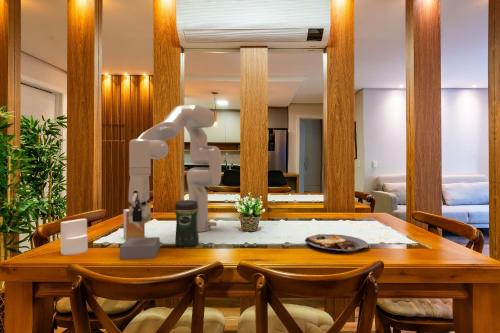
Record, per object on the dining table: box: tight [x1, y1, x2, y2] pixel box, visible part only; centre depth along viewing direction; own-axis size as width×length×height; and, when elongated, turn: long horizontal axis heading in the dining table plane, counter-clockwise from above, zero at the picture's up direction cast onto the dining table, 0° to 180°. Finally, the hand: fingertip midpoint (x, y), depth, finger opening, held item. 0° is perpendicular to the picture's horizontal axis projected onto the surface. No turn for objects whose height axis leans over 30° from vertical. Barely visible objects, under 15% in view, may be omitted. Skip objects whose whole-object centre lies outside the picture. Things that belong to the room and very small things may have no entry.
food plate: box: [304, 233, 369, 253], centre depth 127 cm, size 25×23×4 cm
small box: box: [122, 208, 146, 241], centre depth 139 cm, size 8×6×13 cm
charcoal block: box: [119, 236, 161, 260], centre depth 116 cm, size 12×12×5 cm
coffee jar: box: [174, 199, 200, 247], centre depth 129 cm, size 10×8×19 cm
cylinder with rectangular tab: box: [60, 218, 88, 256], centre depth 119 cm, size 9×9×12 cm
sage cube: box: [128, 204, 152, 224], centre depth 115 cm, size 6×6×6 cm
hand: (140, 219), depth 115 cm, fingers closed on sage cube, 6 cm apart
